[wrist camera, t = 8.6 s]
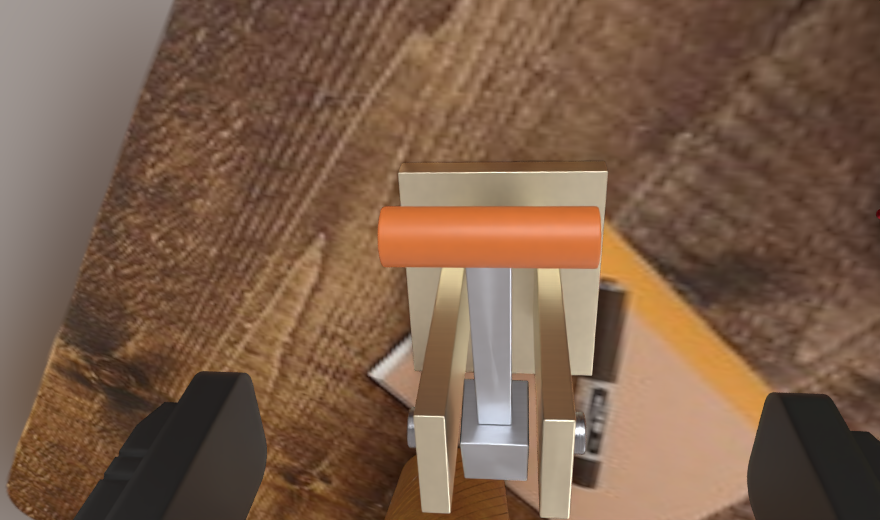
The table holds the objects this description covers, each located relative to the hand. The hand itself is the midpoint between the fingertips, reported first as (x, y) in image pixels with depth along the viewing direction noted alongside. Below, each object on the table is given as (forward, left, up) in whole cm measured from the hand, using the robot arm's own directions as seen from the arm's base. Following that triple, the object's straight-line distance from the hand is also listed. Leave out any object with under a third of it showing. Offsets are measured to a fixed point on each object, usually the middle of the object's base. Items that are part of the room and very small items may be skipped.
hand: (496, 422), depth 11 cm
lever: (+4, 0, -9) cm, 10 cm away
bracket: (+9, 0, -21) cm, 22 cm away
